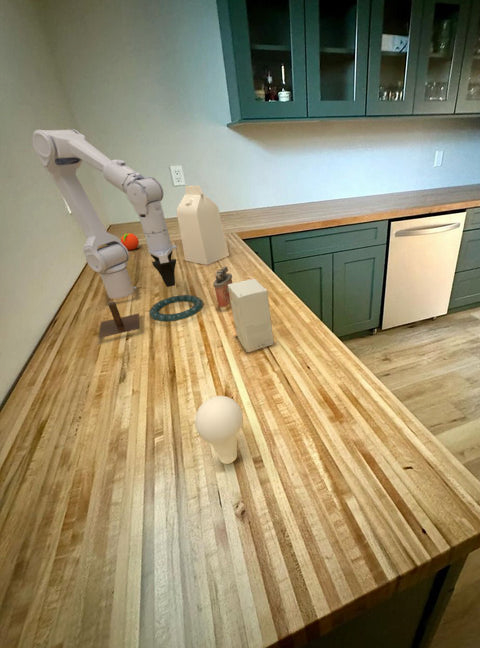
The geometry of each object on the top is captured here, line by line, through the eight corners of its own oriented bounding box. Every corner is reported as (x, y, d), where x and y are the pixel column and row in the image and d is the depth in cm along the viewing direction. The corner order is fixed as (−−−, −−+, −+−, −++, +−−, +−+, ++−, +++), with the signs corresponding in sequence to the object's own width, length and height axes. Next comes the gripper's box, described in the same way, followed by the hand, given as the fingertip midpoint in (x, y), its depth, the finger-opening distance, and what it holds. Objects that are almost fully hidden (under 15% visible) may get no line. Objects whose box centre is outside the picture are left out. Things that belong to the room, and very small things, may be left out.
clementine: (135, 252, 143) (130, 235, 140) (119, 253, 143) (114, 236, 140) (143, 246, 150) (138, 230, 146) (128, 247, 150) (123, 231, 147)
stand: (102, 325, 86) (92, 300, 82) (140, 317, 89) (131, 292, 85) (100, 342, 79) (88, 315, 75) (141, 332, 82) (132, 306, 78)
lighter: (227, 311, 89) (220, 275, 84) (215, 310, 90) (208, 275, 85) (238, 298, 96) (232, 264, 91) (227, 297, 96) (221, 264, 92)
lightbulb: (210, 445, 50) (195, 388, 45) (251, 440, 51) (240, 384, 45) (204, 481, 45) (185, 422, 40) (249, 476, 45) (237, 417, 40)
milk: (229, 255, 131) (216, 183, 118) (207, 264, 123) (191, 189, 110) (207, 251, 137) (193, 183, 124) (185, 260, 129) (168, 188, 116)
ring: (149, 308, 93) (147, 300, 92) (199, 297, 98) (197, 289, 97) (152, 330, 82) (149, 322, 81) (208, 316, 87) (206, 308, 86)
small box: (274, 344, 73) (268, 290, 67) (246, 353, 71) (237, 297, 65) (261, 328, 80) (254, 277, 73) (236, 336, 78) (226, 283, 71)
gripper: (175, 234, 80) (188, 287, 87) (169, 223, 92) (181, 270, 98) (143, 239, 78) (159, 293, 84) (141, 227, 89) (155, 275, 96)
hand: (169, 281), depth 91 cm, fingers open, 7 cm apart
